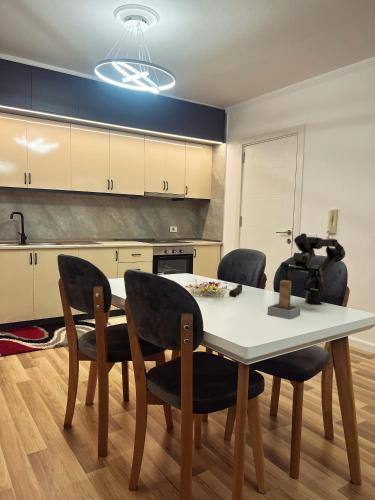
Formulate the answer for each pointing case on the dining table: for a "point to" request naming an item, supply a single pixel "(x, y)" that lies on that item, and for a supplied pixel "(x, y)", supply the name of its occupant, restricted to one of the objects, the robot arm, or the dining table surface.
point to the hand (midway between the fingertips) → (295, 283)
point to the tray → (284, 311)
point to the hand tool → (236, 291)
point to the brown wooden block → (285, 294)
